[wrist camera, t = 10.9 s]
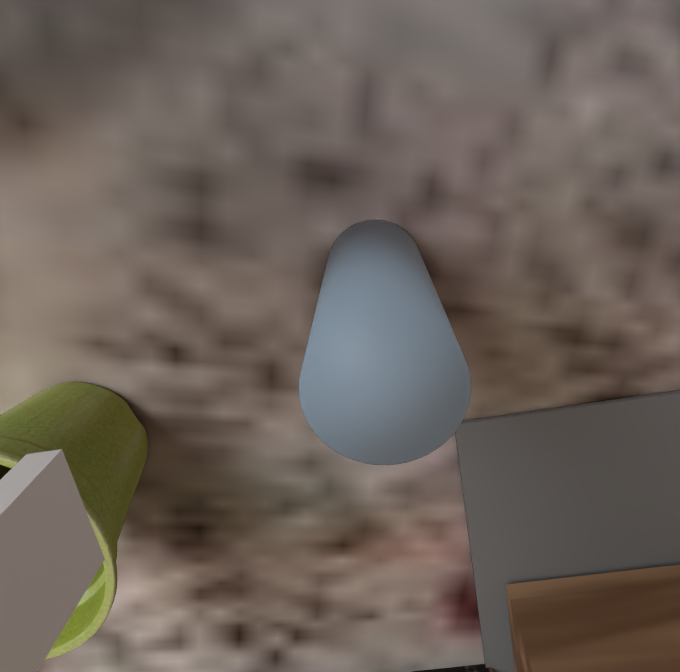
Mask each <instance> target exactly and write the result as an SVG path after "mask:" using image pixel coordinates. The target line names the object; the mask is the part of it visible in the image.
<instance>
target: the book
mask: <svg viewBox="0 0 680 672" xmlns="http://www.w3.org/2000/svg"><path fill="white" fill-rule="evenodd" d="M414 672H492V669H491V667H488V668H486V666H485V664H480V665H471V666H462V667H452V668H443V669H433V670H423V671H414Z"/></svg>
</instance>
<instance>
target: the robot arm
mask: <svg viewBox="0 0 680 672" xmlns="http://www.w3.org/2000/svg"><path fill="white" fill-rule="evenodd" d="M104 560H105V558H104V555H103V553H102V550H101V548H100V545H99V543H98V540H97V537H96V535H95V532H94V530H93V527H92V525H91V522H90V520H89V517H88V514H87V512H86V509H85V507H84V504H83V502H82V499H81V497H80V494H79V492H78V489H77V486H76V484H75V481H74V479H73V476H72V474H71V471H70V469H69V466H68V463H67V461H66V458H65V456H64V453H63V451H62V449H59V450H52V451H46V452H39V453H32V454H26V455H25V456H24V457H23V458H22V459H21V460H20V461H19V462H18V463H17V464H16V465H15V466H14V467H13V468H12V469H11V470H10V471H9V472H8V473H7V474H6V475H5V476H4V477H3V478H2V479H1V480H0V672H38V670H39V668H40V667H41V665H42V663H43V662H44V660H45V658H46V657H47V655H48V653H49V652H50V650H51V648H52V647H53V645H54V643H55V642H56V640H57V638H58V637H59V635H60V633H61V632H62V630H63V628H64V627H65V625H66V623H67V622H68V620H69V618H70V617H71V615H72V613H73V612H74V610H75V608H76V607H77V605H78V603H79V602H80V600H81V598H82V596H83V595H84V593H85V591H86V590H87V588H88V586H89V585H90V583H91V581H92V580H93V578H94V576H95V575H96V573H97V571H98V570H99V568H100V566H101V565H102V563H103V561H104Z"/></svg>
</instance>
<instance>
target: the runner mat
mask: <svg viewBox="0 0 680 672" xmlns="http://www.w3.org/2000/svg"><path fill="white" fill-rule="evenodd" d="M455 434H456V442H457V449H458V457H459V465H460V473H461V480H462V488H463V496H464V504H465V511H466V519H467V527H468V535H469V542H470V550H471V558H472V566H473V573H474V581H475V589H476V597H477V604H478V612H479V620H480V628H481V635H482V643H483V651H484V659H485V666H486V668H488V667H491V669H492V672H515V669H514V659H513V650H512V640H511V631H510V621H509V612H508V602H507V593H506V584H514V583H523V582H531V581H540V580H549V579H558V578H566V577H575V576H584V575H593V574H602V573H610V572H619V571H628V570H637V569H646V568H654V567H663V566H672V565H680V390H678V391H671V392H664V393H657V394H650V395H643V396H636V397H629V398H622V399H615V400H608V401H601V402H594V403H586V404H579V405H572V406H565V407H558V408H551V409H544V410H537V411H530V412H523V413H516V414H509V415H502V416H495V417H487V418H480V419H473V420H466V421H462V422H461V424H460V425H459V427H458V428H457V430H456V431H455Z"/></svg>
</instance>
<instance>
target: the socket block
mask: <svg viewBox="0 0 680 672" xmlns="http://www.w3.org/2000/svg"><path fill="white" fill-rule="evenodd" d="M506 593H507V602H508V612H509V621H510V631H511V640H512V650H513V659H514V669H515V672H680V565H672V566H663V567H654V568H646V569H637V570H628V571H619V572H610V573H602V574H593V575H584V576H575V577H566V578H558V579H549V580H540V581H531V582H523V583H514V584H506Z"/></svg>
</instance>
